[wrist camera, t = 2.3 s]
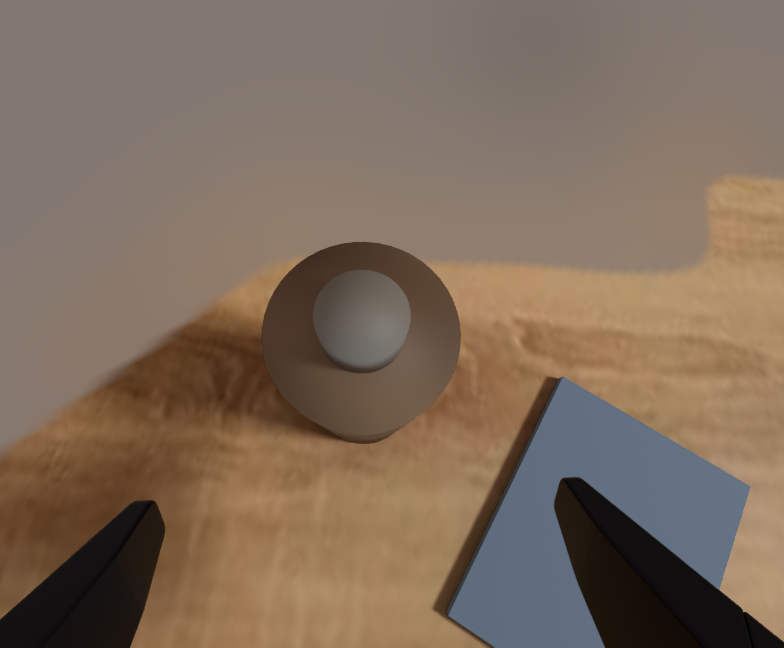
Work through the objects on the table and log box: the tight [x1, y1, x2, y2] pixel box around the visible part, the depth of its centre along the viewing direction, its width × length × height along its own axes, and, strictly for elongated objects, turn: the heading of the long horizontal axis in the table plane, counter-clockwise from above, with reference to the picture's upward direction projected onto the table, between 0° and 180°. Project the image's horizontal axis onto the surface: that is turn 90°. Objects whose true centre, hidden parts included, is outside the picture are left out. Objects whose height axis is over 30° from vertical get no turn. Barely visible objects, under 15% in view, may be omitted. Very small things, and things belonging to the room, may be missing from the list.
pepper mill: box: [262, 242, 461, 444], centre depth 15 cm, size 5×5×13 cm
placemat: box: [446, 377, 750, 648], centre depth 19 cm, size 12×10×1 cm
